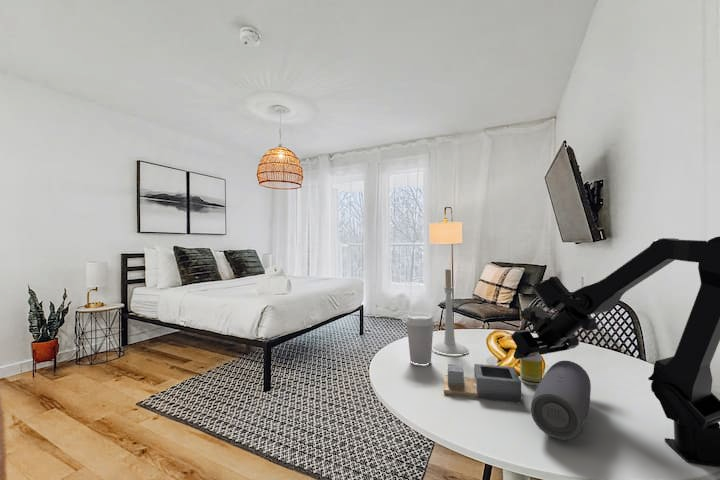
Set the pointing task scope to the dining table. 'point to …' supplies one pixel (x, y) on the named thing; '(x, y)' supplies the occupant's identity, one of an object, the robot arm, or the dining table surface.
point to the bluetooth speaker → (562, 400)
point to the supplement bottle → (531, 370)
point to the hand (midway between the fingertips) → (527, 355)
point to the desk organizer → (484, 383)
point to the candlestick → (449, 324)
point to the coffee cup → (420, 337)
